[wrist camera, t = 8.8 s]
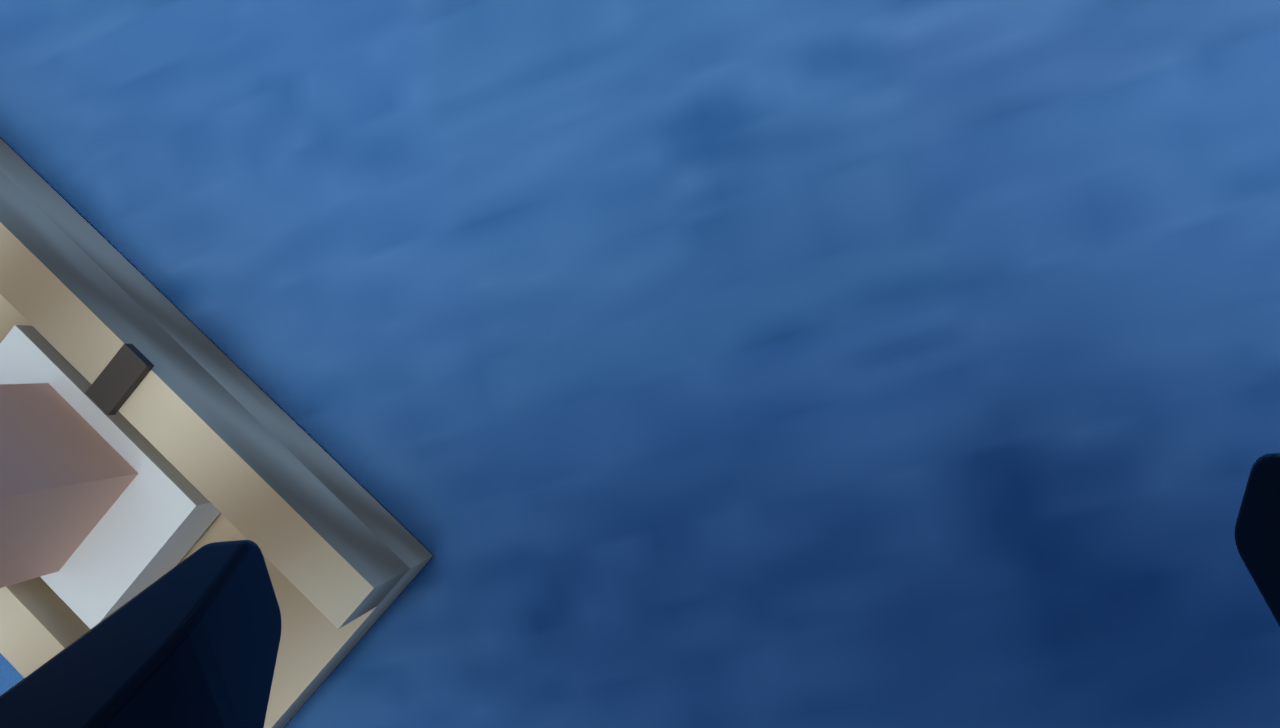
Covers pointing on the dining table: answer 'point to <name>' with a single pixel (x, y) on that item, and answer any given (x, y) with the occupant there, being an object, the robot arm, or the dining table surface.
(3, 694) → the robot arm
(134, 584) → the fader tab
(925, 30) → the dining table surface
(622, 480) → the dining table surface
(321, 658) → the fader track
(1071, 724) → the dining table surface
